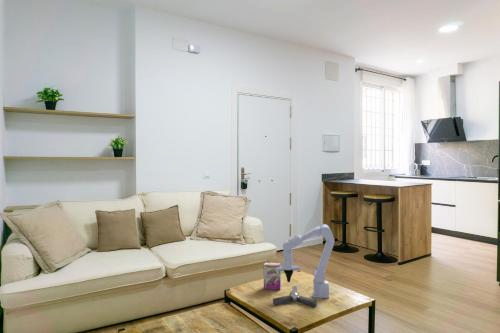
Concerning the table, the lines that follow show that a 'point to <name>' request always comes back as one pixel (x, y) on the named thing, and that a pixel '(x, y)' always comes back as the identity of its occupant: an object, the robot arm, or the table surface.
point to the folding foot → (294, 288)
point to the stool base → (294, 300)
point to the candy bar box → (272, 276)
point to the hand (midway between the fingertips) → (288, 281)
